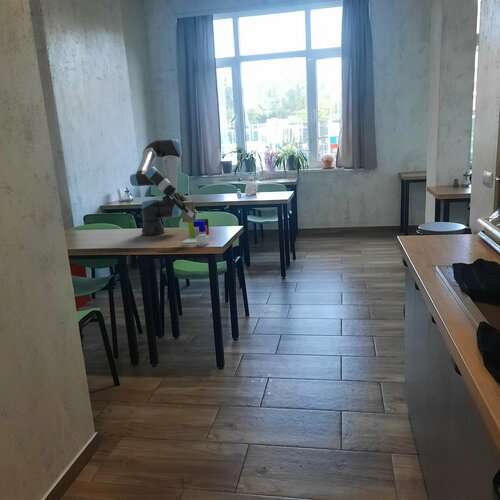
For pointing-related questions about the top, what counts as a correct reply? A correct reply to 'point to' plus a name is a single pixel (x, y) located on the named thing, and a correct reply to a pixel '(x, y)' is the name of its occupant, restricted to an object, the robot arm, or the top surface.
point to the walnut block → (191, 207)
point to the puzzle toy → (198, 227)
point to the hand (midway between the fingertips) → (194, 214)
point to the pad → (191, 240)
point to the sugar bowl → (202, 240)
